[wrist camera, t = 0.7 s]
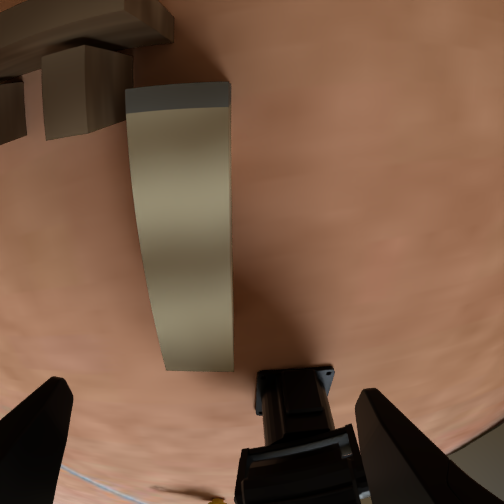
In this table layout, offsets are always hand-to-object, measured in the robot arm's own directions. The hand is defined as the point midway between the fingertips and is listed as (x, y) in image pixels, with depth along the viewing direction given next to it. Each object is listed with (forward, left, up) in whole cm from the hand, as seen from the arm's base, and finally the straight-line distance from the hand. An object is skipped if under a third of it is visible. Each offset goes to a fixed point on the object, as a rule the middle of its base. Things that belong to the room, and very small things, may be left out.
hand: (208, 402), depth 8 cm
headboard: (+9, +9, -12) cm, 18 cm away
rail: (0, +1, -12) cm, 12 cm away
